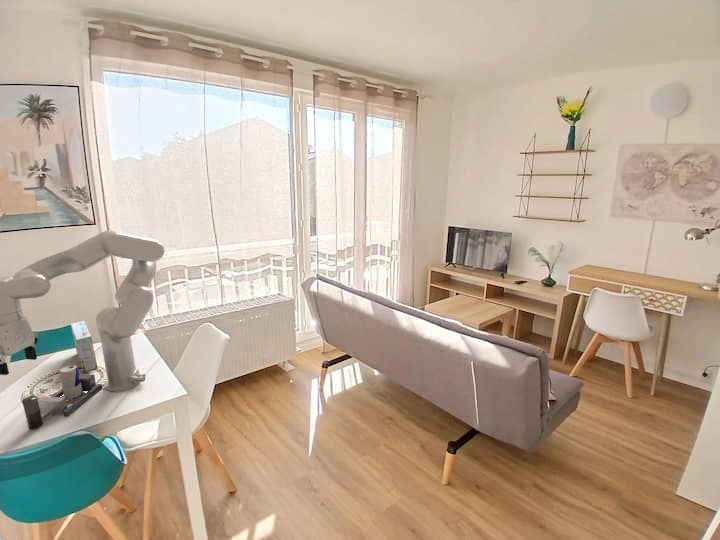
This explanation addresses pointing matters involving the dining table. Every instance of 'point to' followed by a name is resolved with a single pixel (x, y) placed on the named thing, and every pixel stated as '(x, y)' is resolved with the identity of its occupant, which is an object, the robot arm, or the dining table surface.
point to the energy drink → (71, 382)
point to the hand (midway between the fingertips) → (18, 366)
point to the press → (87, 385)
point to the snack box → (84, 346)
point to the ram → (42, 409)
